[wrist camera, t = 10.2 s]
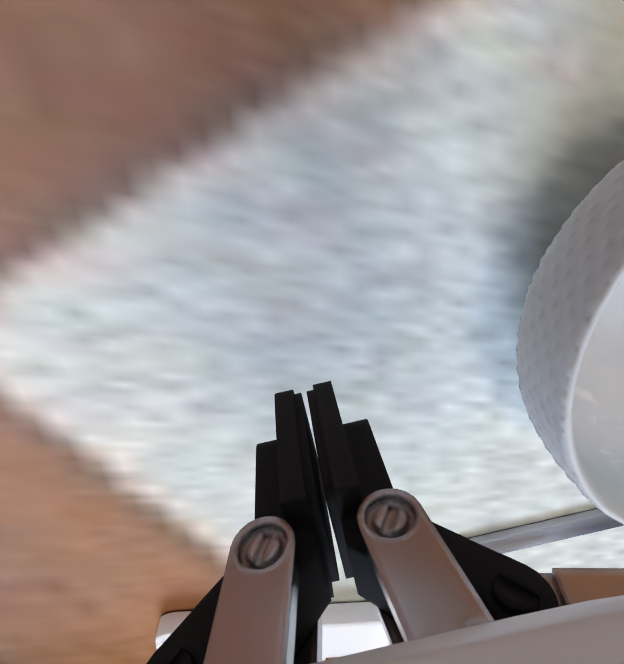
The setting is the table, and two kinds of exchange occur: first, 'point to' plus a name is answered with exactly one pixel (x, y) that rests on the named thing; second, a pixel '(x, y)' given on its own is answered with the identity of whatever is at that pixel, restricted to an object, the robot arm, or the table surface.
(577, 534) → the spoon
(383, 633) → the phone case
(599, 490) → the cereal bowl
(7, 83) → the table surface
